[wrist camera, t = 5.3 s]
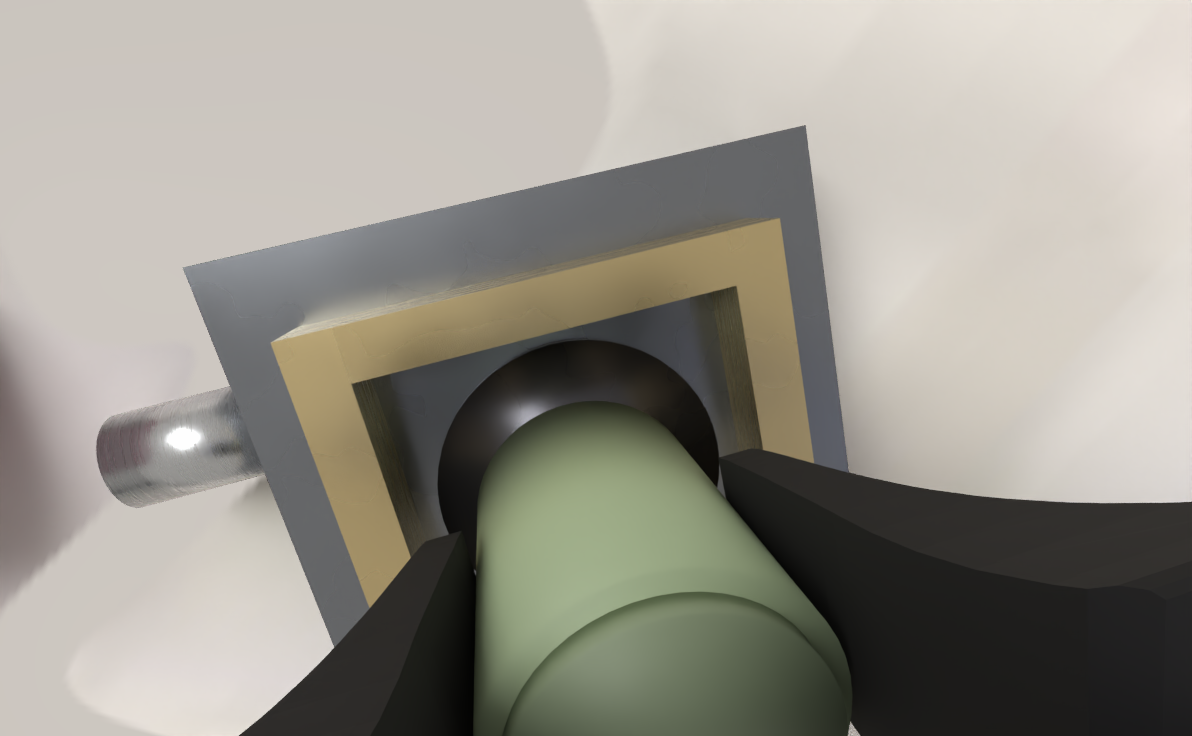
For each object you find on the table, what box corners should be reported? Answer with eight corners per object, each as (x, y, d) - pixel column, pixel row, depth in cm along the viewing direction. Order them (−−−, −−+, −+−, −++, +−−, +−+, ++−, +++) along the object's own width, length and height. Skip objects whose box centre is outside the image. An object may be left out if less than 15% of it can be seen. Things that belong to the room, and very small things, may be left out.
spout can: (668, 372, 13) (935, 615, 5) (713, 562, 14) (976, 971, 7) (446, 440, 12) (388, 815, 5) (514, 631, 14) (553, 1154, 6)
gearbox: (745, 142, 15) (847, 112, 11) (808, 562, 18) (906, 667, 14) (105, 289, 14) (-70, 322, 9) (294, 722, 17) (228, 895, 13)
